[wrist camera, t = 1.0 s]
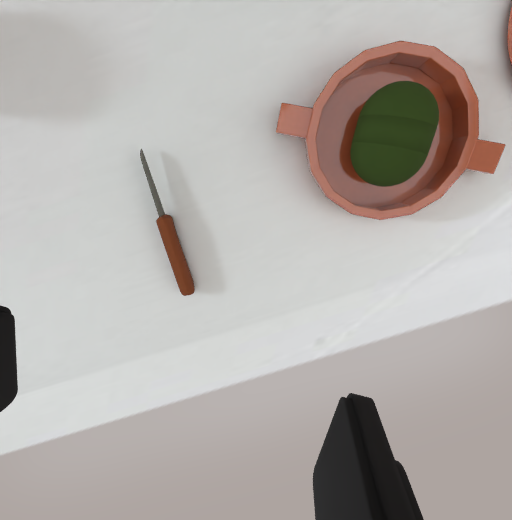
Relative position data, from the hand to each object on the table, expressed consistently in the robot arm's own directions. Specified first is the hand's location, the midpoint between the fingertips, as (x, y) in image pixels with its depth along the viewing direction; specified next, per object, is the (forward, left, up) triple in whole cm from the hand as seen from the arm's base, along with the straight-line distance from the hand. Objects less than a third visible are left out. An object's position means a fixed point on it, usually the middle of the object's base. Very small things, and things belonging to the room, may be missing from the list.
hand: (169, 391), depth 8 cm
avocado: (-10, +10, -24) cm, 28 cm away
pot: (-10, +10, -24) cm, 28 cm away
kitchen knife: (+2, -9, -25) cm, 27 cm away
